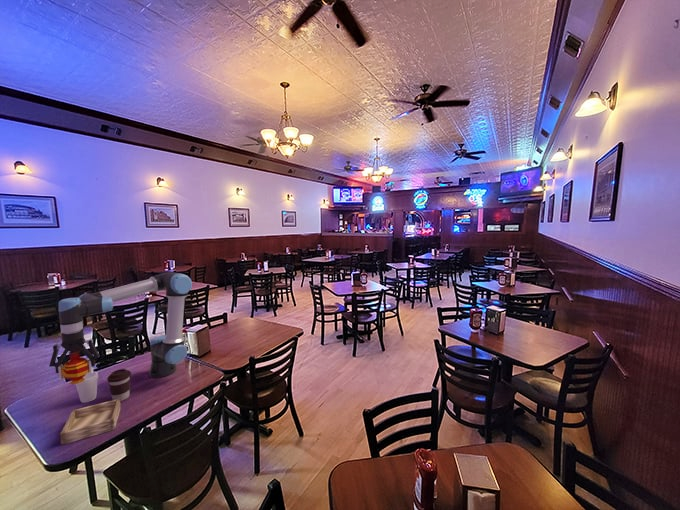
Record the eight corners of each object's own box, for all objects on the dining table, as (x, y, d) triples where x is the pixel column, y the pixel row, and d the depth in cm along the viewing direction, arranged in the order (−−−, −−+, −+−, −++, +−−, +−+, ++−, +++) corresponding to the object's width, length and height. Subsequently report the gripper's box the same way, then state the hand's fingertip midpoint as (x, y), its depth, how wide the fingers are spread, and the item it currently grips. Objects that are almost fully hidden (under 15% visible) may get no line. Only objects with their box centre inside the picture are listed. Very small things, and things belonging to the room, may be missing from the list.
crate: (120, 407, 145) (119, 398, 144) (114, 429, 129) (113, 419, 129) (73, 420, 136) (72, 409, 135) (61, 445, 120) (60, 433, 120)
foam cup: (86, 405, 146) (83, 382, 145) (72, 403, 148) (69, 380, 147) (104, 394, 156) (102, 372, 154) (91, 392, 157) (89, 370, 156)
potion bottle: (76, 375, 140) (73, 346, 138) (97, 375, 140) (94, 346, 139) (55, 387, 129) (52, 356, 128) (79, 387, 130) (75, 356, 128)
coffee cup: (136, 394, 156) (134, 369, 154) (117, 405, 146) (115, 378, 145) (124, 391, 159) (122, 366, 157) (105, 401, 150) (102, 374, 148)
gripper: (105, 324, 141) (108, 366, 143) (42, 332, 130) (47, 378, 132) (101, 329, 134) (105, 373, 137) (35, 338, 123) (40, 386, 126)
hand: (76, 375), depth 134 cm, fingers closed on potion bottle, 10 cm apart
